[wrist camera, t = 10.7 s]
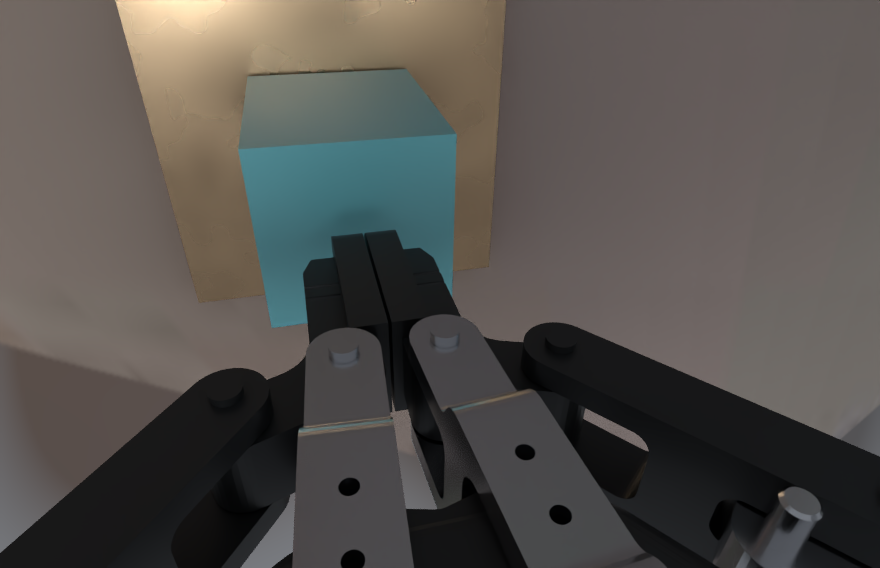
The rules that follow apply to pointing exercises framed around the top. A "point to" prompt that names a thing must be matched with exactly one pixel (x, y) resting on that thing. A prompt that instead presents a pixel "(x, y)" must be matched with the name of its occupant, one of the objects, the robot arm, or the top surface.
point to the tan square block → (303, 52)
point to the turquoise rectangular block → (342, 172)
